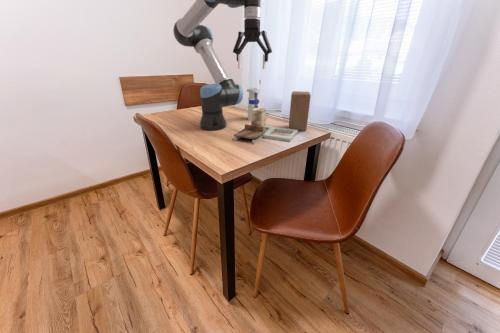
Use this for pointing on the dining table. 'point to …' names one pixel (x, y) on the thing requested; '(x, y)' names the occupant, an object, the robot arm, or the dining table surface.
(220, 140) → the dining table surface
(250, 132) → the walnut lid
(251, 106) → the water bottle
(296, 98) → the wooden block
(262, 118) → the beech block
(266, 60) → the robot arm
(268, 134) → the puzzle board
